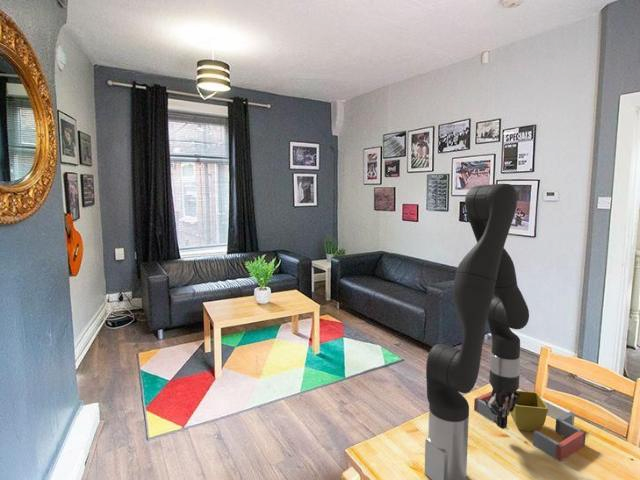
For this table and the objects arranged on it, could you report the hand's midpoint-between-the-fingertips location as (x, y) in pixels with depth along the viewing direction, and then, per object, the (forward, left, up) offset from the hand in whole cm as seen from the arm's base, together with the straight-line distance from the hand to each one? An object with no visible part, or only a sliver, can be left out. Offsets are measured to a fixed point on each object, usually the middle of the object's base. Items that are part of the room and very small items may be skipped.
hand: (501, 426), depth 104 cm
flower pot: (+11, 0, -4) cm, 12 cm away
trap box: (+15, 0, -4) cm, 15 cm away
